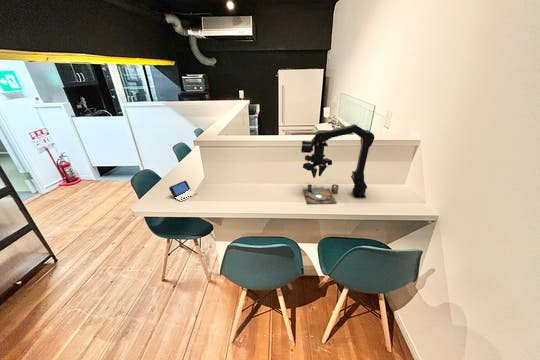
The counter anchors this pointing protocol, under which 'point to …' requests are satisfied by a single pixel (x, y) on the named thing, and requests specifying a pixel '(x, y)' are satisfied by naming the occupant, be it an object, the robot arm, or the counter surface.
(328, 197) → the sprocket
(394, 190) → the counter surface
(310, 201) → the sprocket base
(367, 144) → the robot arm
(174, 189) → the handheld game console
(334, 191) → the roller
